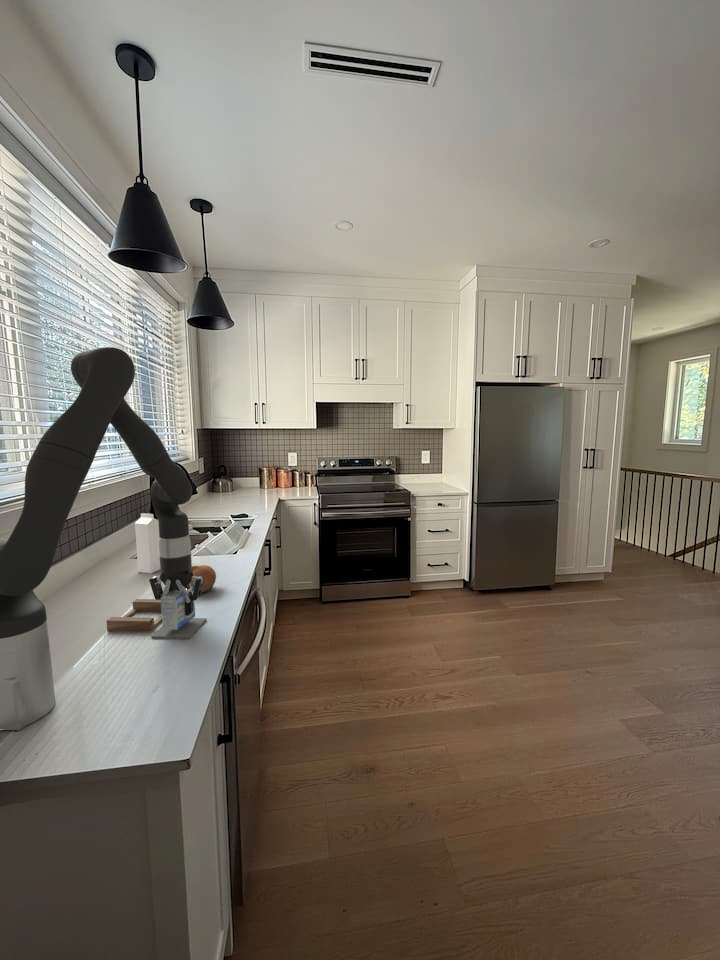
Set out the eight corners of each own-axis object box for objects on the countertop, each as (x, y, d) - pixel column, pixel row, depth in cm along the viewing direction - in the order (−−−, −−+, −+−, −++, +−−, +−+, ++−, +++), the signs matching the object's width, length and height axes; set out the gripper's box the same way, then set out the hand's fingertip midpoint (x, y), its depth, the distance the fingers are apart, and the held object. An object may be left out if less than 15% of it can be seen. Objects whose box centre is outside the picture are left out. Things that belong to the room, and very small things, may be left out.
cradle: (150, 631, 104) (149, 621, 103) (107, 631, 104) (106, 620, 104) (175, 609, 117) (174, 599, 117) (137, 608, 117) (136, 598, 117)
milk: (150, 567, 154) (147, 511, 151) (163, 568, 152) (159, 512, 149) (137, 572, 148) (133, 514, 145) (150, 573, 146) (146, 515, 144)
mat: (190, 639, 100) (189, 636, 100) (151, 638, 101) (151, 636, 100) (206, 620, 110) (206, 618, 110) (171, 619, 110) (171, 617, 110)
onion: (190, 602, 129) (173, 578, 126) (206, 584, 137) (191, 561, 134) (211, 596, 125) (194, 571, 122) (227, 578, 134) (211, 554, 131)
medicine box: (177, 630, 101) (175, 598, 100) (161, 628, 102) (160, 596, 101) (195, 616, 108) (194, 586, 107) (181, 615, 109) (179, 585, 108)
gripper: (140, 556, 99) (144, 620, 101) (196, 557, 99) (199, 621, 101) (156, 547, 107) (160, 607, 109) (208, 548, 106) (211, 608, 108)
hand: (178, 614), depth 105 cm, fingers closed on medicine box, 5 cm apart
